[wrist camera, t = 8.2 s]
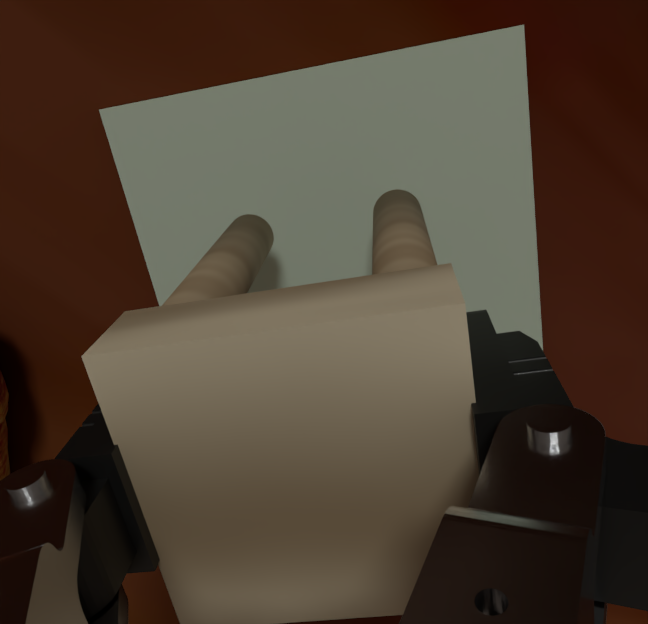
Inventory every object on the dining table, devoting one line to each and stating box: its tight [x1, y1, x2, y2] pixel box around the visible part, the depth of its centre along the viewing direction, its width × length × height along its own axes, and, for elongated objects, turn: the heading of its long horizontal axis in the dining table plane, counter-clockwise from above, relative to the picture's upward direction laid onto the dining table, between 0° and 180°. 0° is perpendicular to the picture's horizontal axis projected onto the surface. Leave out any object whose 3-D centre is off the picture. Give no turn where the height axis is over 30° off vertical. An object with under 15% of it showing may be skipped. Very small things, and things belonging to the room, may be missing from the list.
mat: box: [99, 25, 543, 350], centre depth 18 cm, size 11×11×1 cm
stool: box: [81, 189, 479, 624], centre depth 13 cm, size 5×5×8 cm
